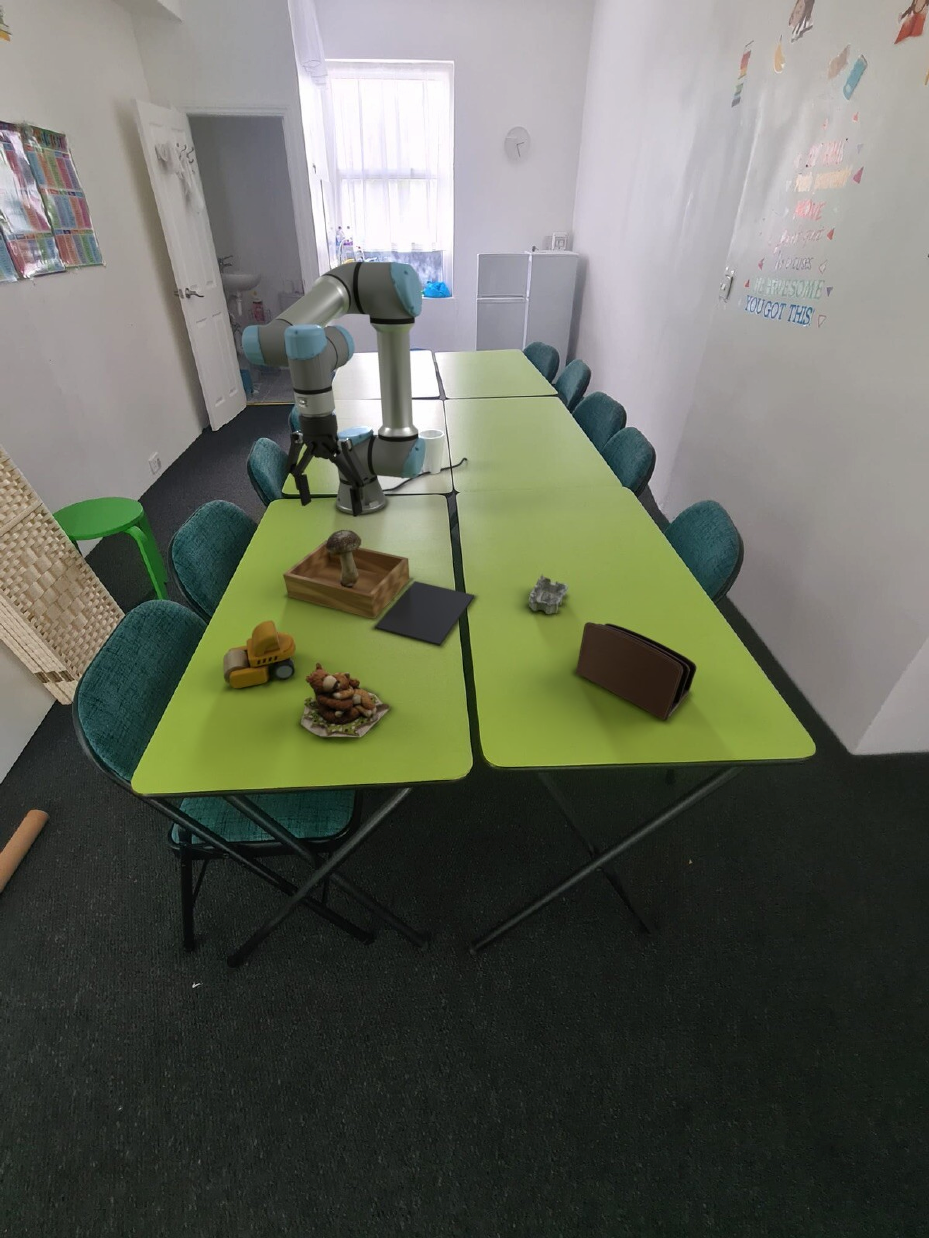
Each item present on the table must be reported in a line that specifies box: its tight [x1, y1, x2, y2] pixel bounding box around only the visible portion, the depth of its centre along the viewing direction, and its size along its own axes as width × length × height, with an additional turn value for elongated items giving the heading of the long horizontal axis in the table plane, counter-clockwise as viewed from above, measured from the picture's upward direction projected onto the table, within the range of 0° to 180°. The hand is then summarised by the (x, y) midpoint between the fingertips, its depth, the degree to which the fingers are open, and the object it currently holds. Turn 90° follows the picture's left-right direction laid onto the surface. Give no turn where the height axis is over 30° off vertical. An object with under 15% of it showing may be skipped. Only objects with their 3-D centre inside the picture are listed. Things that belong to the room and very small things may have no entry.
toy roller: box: [222, 619, 297, 689], centre depth 111 cm, size 9×14×10 cm, turn 111°
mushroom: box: [326, 529, 362, 588], centre depth 134 cm, size 9×9×15 cm
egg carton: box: [528, 574, 569, 615], centre depth 132 cm, size 11×8×4 cm
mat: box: [374, 580, 475, 647], centre depth 130 cm, size 20×16×1 cm
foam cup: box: [418, 428, 445, 475], centre depth 194 cm, size 10×9×13 cm
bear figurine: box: [300, 662, 391, 739], centre depth 101 cm, size 14×15×12 cm
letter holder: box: [575, 621, 698, 722], centre depth 107 cm, size 10×20×14 cm, turn 48°
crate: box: [282, 539, 411, 620], centre depth 137 cm, size 18×24×6 cm
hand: (331, 509), depth 125 cm, fingers open, 13 cm apart
